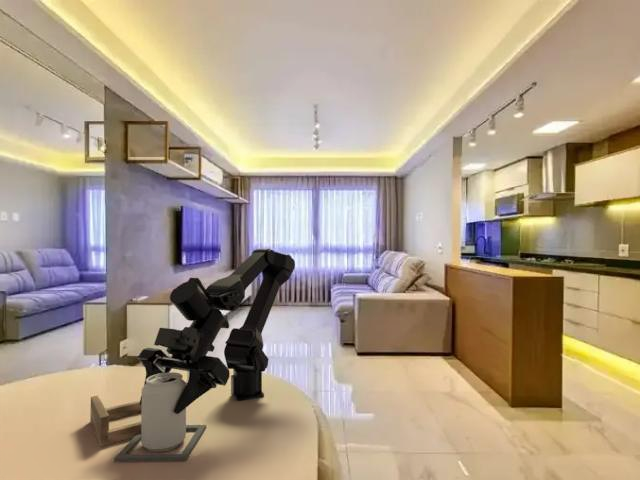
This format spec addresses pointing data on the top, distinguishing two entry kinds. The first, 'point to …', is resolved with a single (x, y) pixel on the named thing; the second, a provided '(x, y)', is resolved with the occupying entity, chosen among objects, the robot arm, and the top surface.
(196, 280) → the robot arm
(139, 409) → the dock
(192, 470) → the top surface
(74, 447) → the top surface
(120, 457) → the holster frame
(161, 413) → the can
